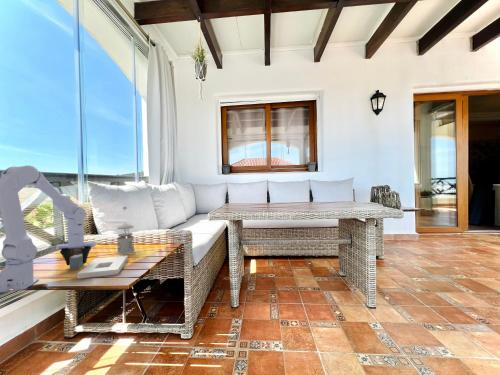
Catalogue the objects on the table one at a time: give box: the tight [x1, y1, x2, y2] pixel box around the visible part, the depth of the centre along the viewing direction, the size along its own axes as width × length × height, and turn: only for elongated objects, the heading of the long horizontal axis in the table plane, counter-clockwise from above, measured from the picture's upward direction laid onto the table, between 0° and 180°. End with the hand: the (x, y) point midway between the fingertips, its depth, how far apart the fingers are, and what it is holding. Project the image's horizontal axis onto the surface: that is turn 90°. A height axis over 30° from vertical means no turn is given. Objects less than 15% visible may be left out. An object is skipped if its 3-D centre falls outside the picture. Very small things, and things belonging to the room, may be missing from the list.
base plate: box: [77, 255, 129, 280], centre depth 103 cm, size 20×14×2 cm
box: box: [63, 240, 84, 257], centre depth 125 cm, size 6×6×7 cm
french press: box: [115, 206, 136, 256], centre depth 129 cm, size 10×12×25 cm
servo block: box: [69, 254, 84, 270], centre depth 105 cm, size 5×4×5 cm
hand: (76, 263), depth 105 cm, fingers open, 5 cm apart
